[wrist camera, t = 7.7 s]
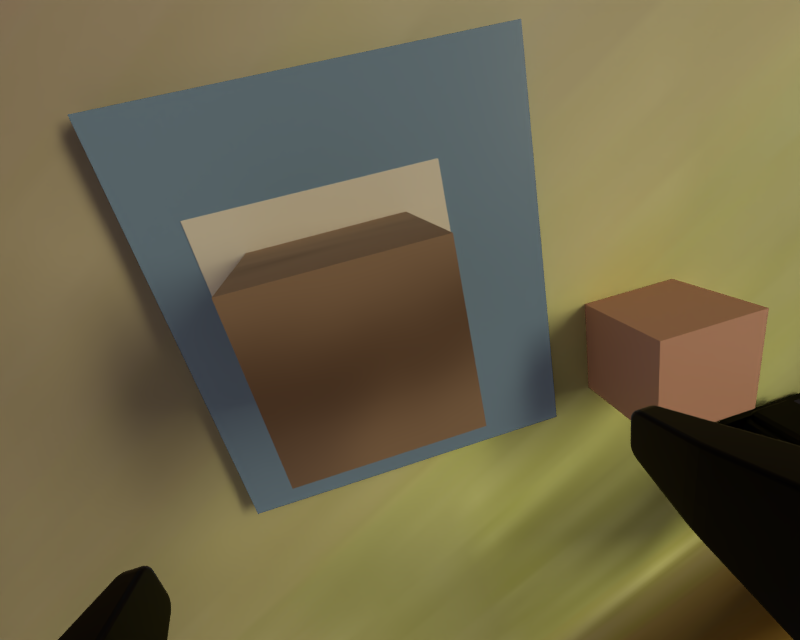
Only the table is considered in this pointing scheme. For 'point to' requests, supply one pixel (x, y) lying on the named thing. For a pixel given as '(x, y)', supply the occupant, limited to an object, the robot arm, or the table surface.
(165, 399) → the table surface
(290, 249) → the walnut block
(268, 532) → the table surface
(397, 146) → the mat
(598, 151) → the table surface
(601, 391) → the terracotta block
